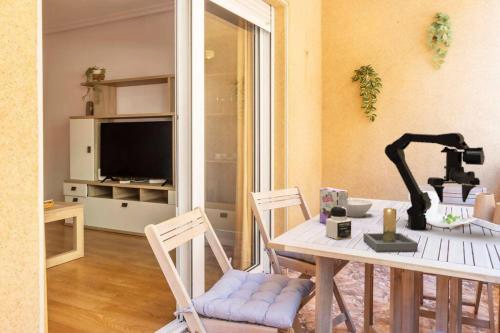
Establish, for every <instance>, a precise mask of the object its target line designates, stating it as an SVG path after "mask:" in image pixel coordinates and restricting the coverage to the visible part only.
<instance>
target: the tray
mask: <svg viewBox="0 0 500 333" xmlns="http://www.w3.org/2000/svg"><path fill="white" fill-rule="evenodd" d="M363 242H364V244H366V243H367V244H368V245H369V246H368V247H370V248H371V249H372V250H373V251H374V250H375V251H374V252H376V253H405V252H406V253H407V252H410V253H413V252H412V251H418V250H419V248H418V247H419V246H418V245H419V243H418V242H417V241H415V240H413V239H412V238H410V237H408V236H407V235H405V234H403V233H402V232H396V243H383V232H378V233H377V232H375V233H374V232H373V233H365V232H364V233H363ZM367 244H366V245H367Z"/></svg>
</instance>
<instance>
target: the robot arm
mask: <svg viewBox="0 0 500 333" xmlns="http://www.w3.org/2000/svg"><path fill="white" fill-rule="evenodd" d="M411 143H422V144H425V143H426V144H437V145H441V146H444V147H443V149H441V150H440V153H442V154H443V153H445V165H444V167H443V168H444V170H445V175H444V176H443V178H442V177H437V176H434V177H432V176H431V177H428V179H427V183H426V184H427V185H430V187H433V189H434V191H435V193H436V195H437V197H438V200H439V202H440V203H442V204H443V202H444V188H445V186H444V184H457V185H461V200H462V202H463V203H465V202H467V199H468V197H469V194H470V192H471V191H472V190H473V189H474V188H477V186H480V185H481V180H480V179H479V177H476V172H474V171H471V170H470V171H465V166H463V163H465V165H472V166H474V165H477V166H483V165H484V164H485V160H486V159H485V158H486V156H485V152H484V147H481V146H480V147H479V146H478V147H470V146H469V145H468V144H467V142H466V141H465V137H464V135H463V134H462V133H460V132H448V133H440V134H429V133H428V134H427V133H413V132H405V133H403V134H402V135H401V136H400V137H399V138H397V139H396V140H394V141H393V142H392V143H389V144H387V145H386V146H385V149H384V154H385V155H386V157H387V159H389V161H391V162H392V163H393V164H394V165H395V167H396V169H397V171H398V173H399V175H400V177H401V179H402V181H403V183H404V185H405V187H406V188H407V191H408V193H409V197H410V198H409V200H410V204H411V206H409V208H407V209H406V214H407V225H406V228H408V229H410V230H412V231H427V230H428V228H427V216H426V214H427V211H428V210H430V209H431V208H432V198H430V196H429V193H428V191H425V192H423V191H422V190H421V188H420V186H419V185H418V183H417V181H416V178H415V176H414V175H413V173H412V171H411V168H410V167H409V165H408V163H407V160H406V154H405V150H406V149H407V147H408V146H409V145H410V144H411Z"/></svg>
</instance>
